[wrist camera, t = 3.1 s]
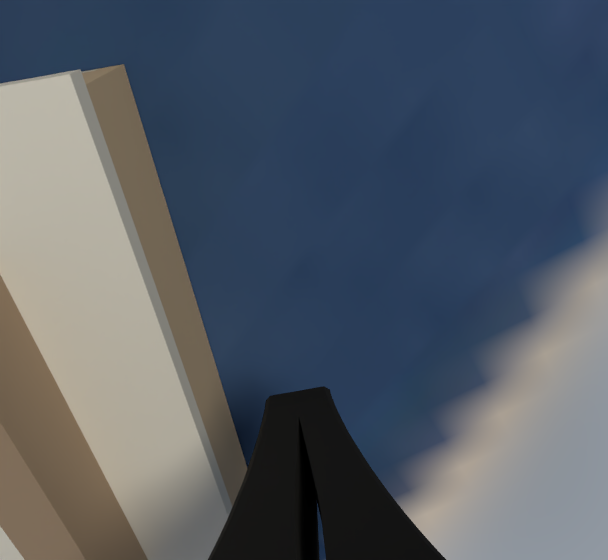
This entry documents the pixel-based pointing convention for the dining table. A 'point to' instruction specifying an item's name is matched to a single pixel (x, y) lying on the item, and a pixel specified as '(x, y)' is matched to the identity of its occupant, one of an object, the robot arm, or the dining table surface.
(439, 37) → the dining table surface
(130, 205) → the box
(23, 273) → the mailer lid
